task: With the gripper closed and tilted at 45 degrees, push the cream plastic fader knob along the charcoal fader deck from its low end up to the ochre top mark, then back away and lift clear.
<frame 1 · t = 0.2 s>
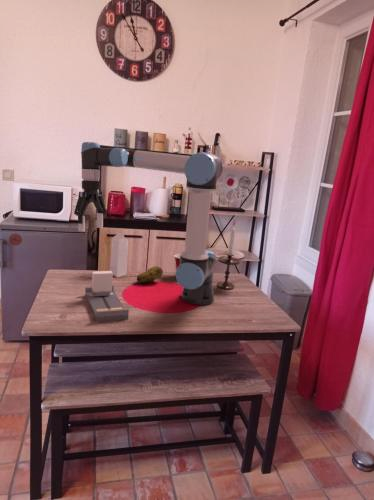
hand: (91, 229, 161), 27 cm above the table, tool pointing down, fingers open, 13 cm apart
milk: (118, 274, 190), on the table
fader knob: (102, 283, 156), point 7 cm above the table, slide at -8.0 cm
plastic cup: (181, 277, 197), on the table
fader deck: (105, 306, 151), on the table
candlestick: (225, 286, 189), on the table
potato: (149, 282, 184), on the table
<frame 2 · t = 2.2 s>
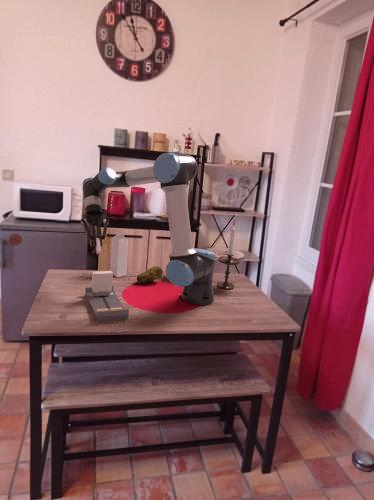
hand: (98, 252, 162), 18 cm above the table, tool tilted 45°, fingers closed
nothing on the table moved.
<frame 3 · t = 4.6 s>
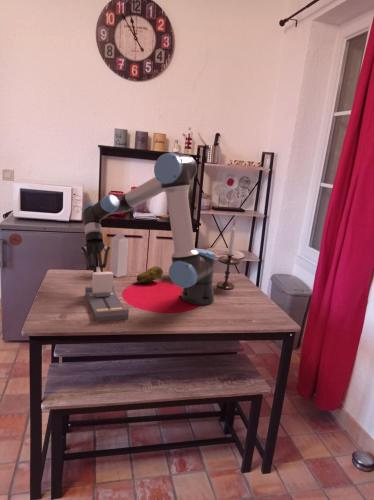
hand: (99, 282, 158), 7 cm above the table, tool tilted 45°, fingers closed
fader knob: (102, 283, 156), point 7 cm above the table, slide at -7.1 cm, touching gripper
everything else where it was.
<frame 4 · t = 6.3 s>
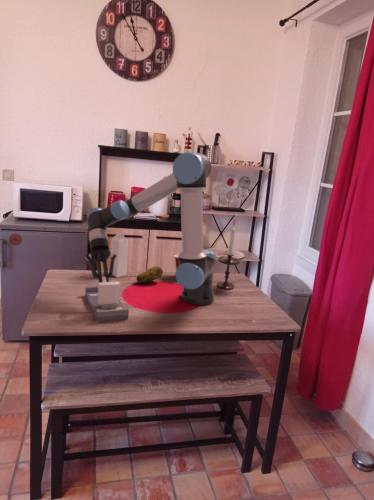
hand: (105, 292, 147), 7 cm above the table, tool tilted 45°, fingers closed
fader knob: (108, 294, 145), point 7 cm above the table, slide at 5.0 cm, touching gripper
everything else where it was.
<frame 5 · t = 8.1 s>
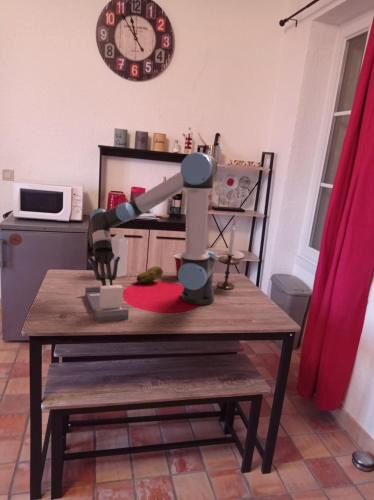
hand: (108, 296, 144), 7 cm above the table, tool tilted 45°, fingers closed
fader knob: (111, 298, 142), point 7 cm above the table, slide at 8.6 cm, touching gripper
everything else where it was.
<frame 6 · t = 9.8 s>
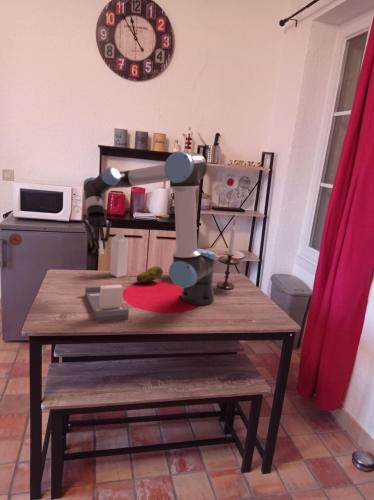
hand: (101, 255, 155), 19 cm above the table, tool tilted 45°, fingers closed
fader knob: (110, 298, 142), point 7 cm above the table, slide at 8.5 cm
everything else where it was.
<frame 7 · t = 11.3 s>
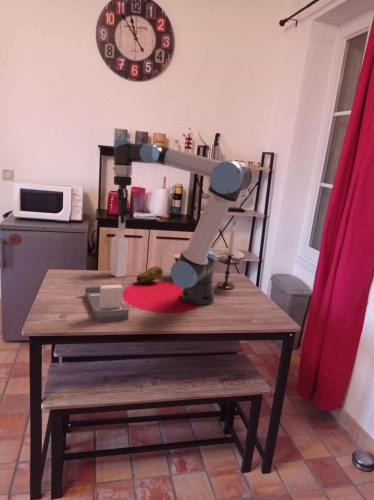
hand: (121, 230, 163), 28 cm above the table, tool pointing down, fingers closed
nothing on the table moved.
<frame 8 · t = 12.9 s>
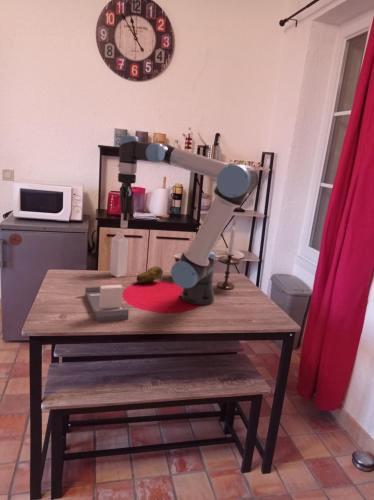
hand: (124, 227, 163), 29 cm above the table, tool pointing down, fingers closed
nothing on the table moved.
at the end: fader knob slide at 8.5 cm; milk moved 0.2 cm from its start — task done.
